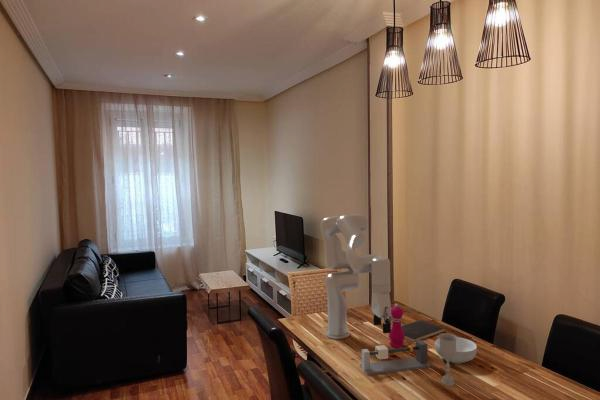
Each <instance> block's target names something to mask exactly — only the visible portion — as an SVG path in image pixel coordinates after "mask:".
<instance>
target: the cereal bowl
mask: <svg viewBox="0 0 600 400" xmlns="http://www.w3.org/2000/svg"><path fill="white" fill-rule="evenodd" d="M434 347H435V351H436V353H437V354H438V356H439V357H441V358H442V359H444V358H443V355H442V353H441V350H440V338H437V339H436V340H435V342H434ZM477 351H478V346H477V344H476V343H475V342H474V341H472V340H471V339H470V340H469V339H467V338H463V337H458V336H457V340H456V352H455V355H454V357H453V359H452V360H451V361H449V363H452V364H459V365H460V364H464V363H467V362H470V361H472V360H474V358H475V357H476V355H477V353H478V352H477Z"/></svg>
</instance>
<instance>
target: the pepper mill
mask: <svg viewBox="0 0 600 400" xmlns="http://www.w3.org/2000/svg"><path fill="white" fill-rule="evenodd" d="M391 315H392V317H391V324H392V325H391V333H388V338H389V340H390V341H389V345H390V347H391V348H393V349H398V348H404V346H405V345H404V344H405V342H404V340H405V335H404V332H403V330H402V327H401V326H402V322H403V315H404V310H403V308H402V307H400V306H399V304H398V303H395V304H394V306H391Z"/></svg>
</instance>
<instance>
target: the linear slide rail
mask: <svg viewBox="0 0 600 400" xmlns="http://www.w3.org/2000/svg"><path fill="white" fill-rule="evenodd" d="M414 351H415V357H409V358H400V359H399V358H398V359H393V360H384V361H376V362H371V356H374V355H377V354H378V351H375V350H373V351H369V349H368V348H363V349H361V363H360V365H359V366H360V368H361V370H362V371H363V373H364V374H366V375H367V376H372V375H373V376H375V375H380V374H389V373H395V372H403V371H410V370H411V371H412V370H420V369H427V368H429V369H430V368H431V367H432V365H431V363H430V362H428V343H427V342H426V341H425V340H423V339H421V340H418V341H415V346H413V345H411V344H410V345H407V347H402V348H390V349H389V348H388V354H394V353H401V352H409V353H413V352H414Z"/></svg>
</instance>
